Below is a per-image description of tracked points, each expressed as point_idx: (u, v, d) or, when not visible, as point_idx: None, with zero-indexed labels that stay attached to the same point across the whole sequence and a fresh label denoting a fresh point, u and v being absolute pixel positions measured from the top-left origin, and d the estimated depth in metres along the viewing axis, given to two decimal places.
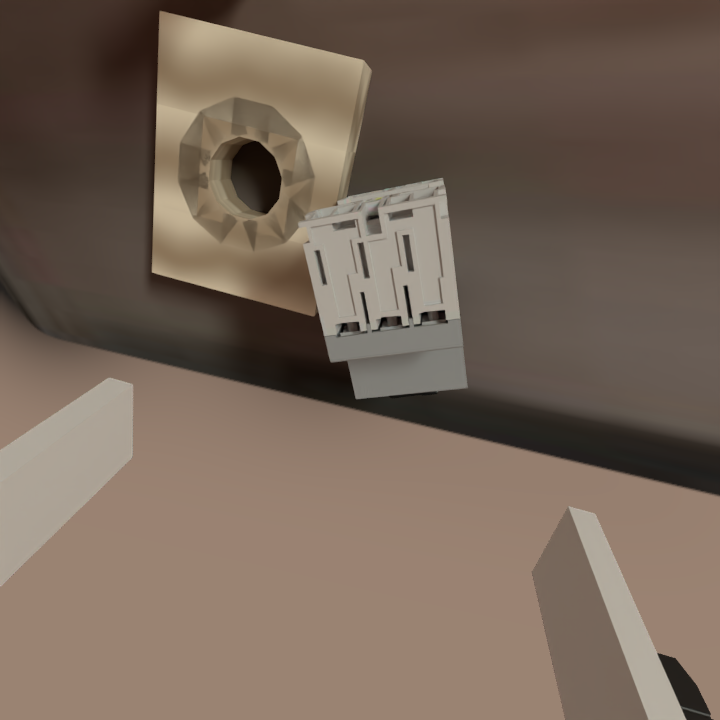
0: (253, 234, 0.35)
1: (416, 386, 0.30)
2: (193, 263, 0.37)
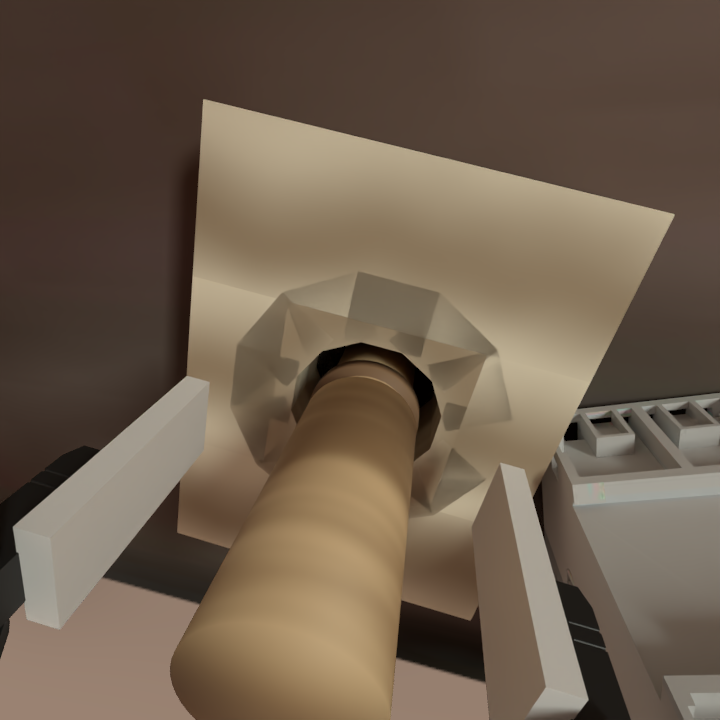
0: None
1: None
2: None
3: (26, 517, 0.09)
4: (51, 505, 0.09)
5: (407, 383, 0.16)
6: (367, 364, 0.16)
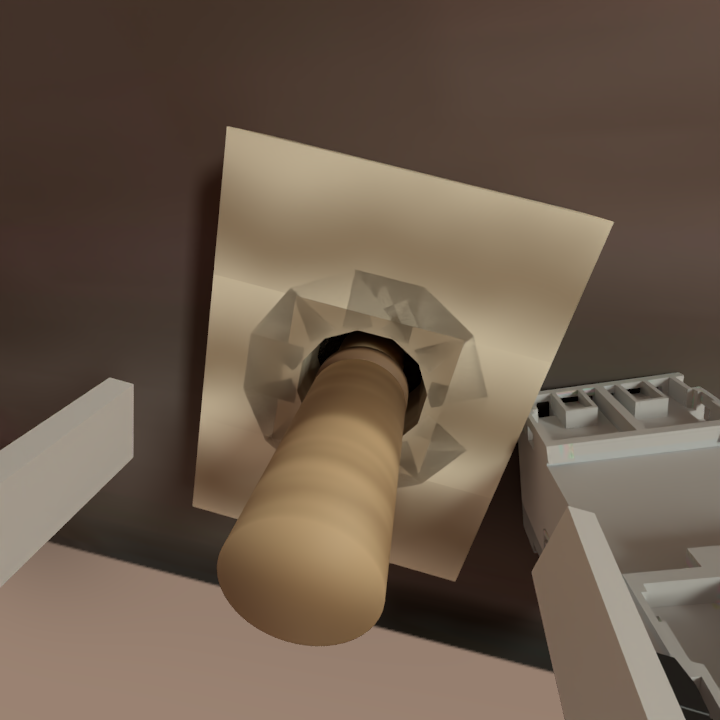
0: None
1: None
2: None
3: None
4: None
5: (398, 365, 0.19)
6: (364, 349, 0.19)
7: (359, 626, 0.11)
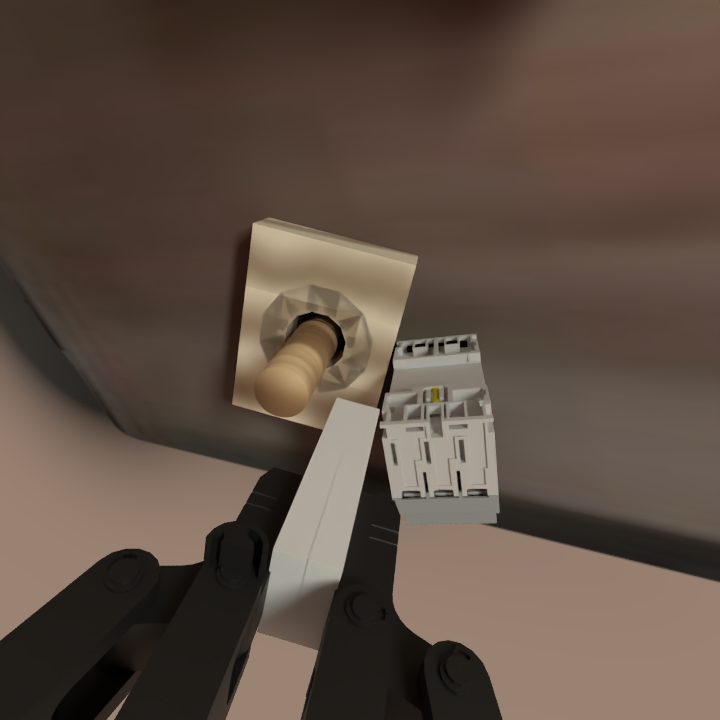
0: None
1: (455, 519, 0.38)
2: None
3: (278, 539, 0.10)
4: (293, 527, 0.10)
5: (331, 328, 0.41)
6: (315, 320, 0.41)
7: (300, 407, 0.33)
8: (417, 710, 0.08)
